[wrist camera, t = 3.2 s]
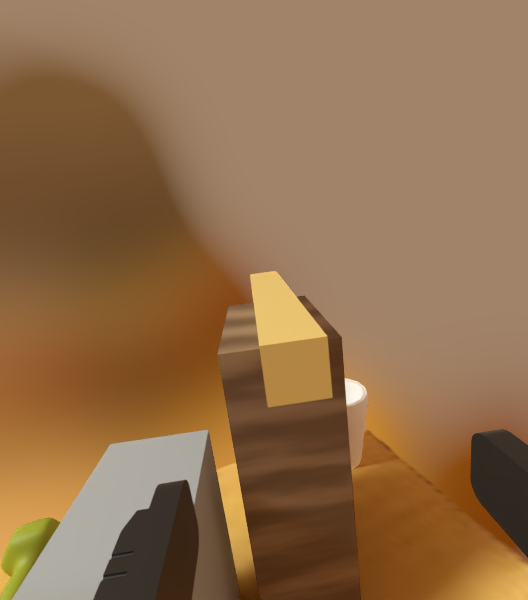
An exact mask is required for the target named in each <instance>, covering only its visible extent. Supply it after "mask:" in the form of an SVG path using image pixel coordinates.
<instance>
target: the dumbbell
mask: <svg viewBox="0 0 528 600" xmlns="http://www.w3.org/2000/svg"><path fill="white" fill-rule="evenodd" d="M59 524H60V522H58V521H57V520H55V519H53V518H44V519H40V520H37V521H34V522H31V523H28V524H25V525H23V526H21V527H19V528H18V529H17V530H16V531H15V532H14V534H13V535H12V537H11V539H10V541H9V543H8V545H7V548H6V550H5V553H4V556H3V559H2V564H1V567H2V569H3V571H4V572H5V573H6V574H8V575H9V576H11V578H10V580H9V581H8V583H7V585H6V587H5V588H4V590H3V592H2V594H1V596H0V600H12V598H13V597H14V595H15V594H16V592H17V590H18V589H19V587H20V586H21V584H22V583H23V581H24V579H25V578H26V576H27V575H28V573H29V572H30V570H31V568H32V567H33V565H34V564H35V562H36V561H37V559H38V557H39V556H40V554H41V553H42V551H43V550H44V548H45V546H46V545H47V543H48V542H49V540H50V539H51V537H52V535H53V534H54V532H55V531H56V529H57V528H58V526H59Z"/></svg>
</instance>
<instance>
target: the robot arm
mask: <svg viewBox="0 0 528 600" xmlns="http://www.w3.org/2000/svg"><path fill="white" fill-rule="evenodd" d="M471 443H472V444H471V445H472V446H471V483H472V487H473V490H474V492H475V495H476V496H477V498H478V500H479V501H480V503H481V504H482V505H483V507H484V508H485V509H486V510H487V511H488V512H489V513H490V515H491V516H492V517H493V518H494V519H495V521H496V522H497V523H498V524H499V525H500V526H501V527H502V529H503V530H504V531H505V532H506V533H507V534H508V535H509V537H510V538H511V539H512V540H513V541H514V542H515V543H516V545H517V546H518V547H519V548H520V549H521V550H522V552H523V553H524V554H525V555H526V556H527V557H528V445H526V444H525V443H524V442H523V441H521V440H520V439H519V438H517V437H516V436H514V435H513V434H512V433H510V432H509V431H507V430H504V429H500V430H493V431H488V432H481V433H476V434H474V435H473V436H472V442H471ZM198 551H199V528H198V522H197V517H196V513H195V509H194V504H193V500H192V495H191V491H190V486H189V483H188V481H187V480H181V481H174V482H168V483H162V484H158V486H157V487H156V489H155V492H154V495H153V498H152V501H151V504H150V507H149V508H148V509H142V510H137V511H136V512H135V514H134V515H133V516H132V518H131V519H130V520H129V522H128V523H127V524H126V525H125V527H124V528H123V529H122V531H121V533H120V535H119V538H118V540H117V542H116V545H115V547H114V550H113V552H112V557H111V559H110V560H109V562H108V564H107V567H106V569H105V572H104V574H103V580H102V581H101V582H100V584H99V586H98V589H97V591H96V594H95V596H94V599H93V600H192V594H193V587H194V580H195V573H196V566H197V559H198Z"/></svg>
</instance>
